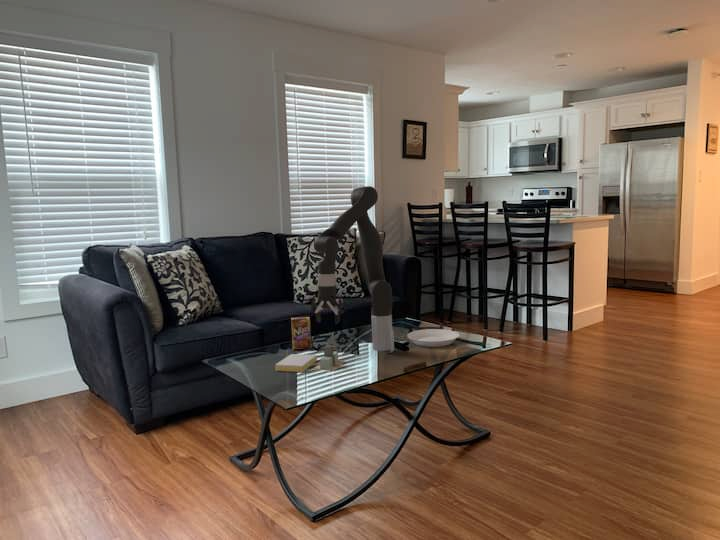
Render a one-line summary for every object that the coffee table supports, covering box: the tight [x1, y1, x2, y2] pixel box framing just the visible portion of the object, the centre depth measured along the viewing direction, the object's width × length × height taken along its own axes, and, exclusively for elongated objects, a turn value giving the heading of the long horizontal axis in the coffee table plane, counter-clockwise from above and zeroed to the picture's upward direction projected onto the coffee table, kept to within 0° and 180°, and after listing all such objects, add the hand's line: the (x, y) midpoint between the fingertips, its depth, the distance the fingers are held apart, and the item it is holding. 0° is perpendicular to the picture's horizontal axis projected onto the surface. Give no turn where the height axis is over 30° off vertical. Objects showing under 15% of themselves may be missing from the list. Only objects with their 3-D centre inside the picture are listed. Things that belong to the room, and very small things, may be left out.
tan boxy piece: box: [312, 344, 346, 371], centre depth 233 cm, size 14×10×10 cm
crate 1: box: [319, 356, 333, 369], centre depth 229 cm, size 4×4×4 cm
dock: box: [274, 353, 318, 373], centre depth 234 cm, size 12×16×4 cm
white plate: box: [406, 328, 460, 348], centre depth 268 cm, size 25×25×4 cm
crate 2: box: [333, 351, 339, 364], centre depth 236 cm, size 4×4×4 cm
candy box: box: [290, 316, 312, 350], centre depth 266 cm, size 9×4×15 cm, turn 98°
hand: (327, 322), depth 234 cm, fingers open, 8 cm apart
